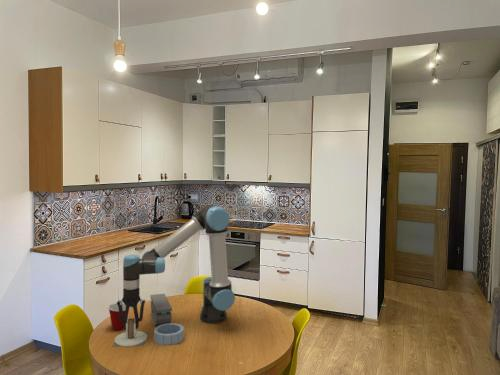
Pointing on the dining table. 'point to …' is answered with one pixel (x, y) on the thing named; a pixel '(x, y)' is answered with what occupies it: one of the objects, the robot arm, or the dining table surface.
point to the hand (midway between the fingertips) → (131, 335)
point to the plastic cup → (116, 316)
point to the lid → (131, 336)
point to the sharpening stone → (160, 309)
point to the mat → (136, 345)
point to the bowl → (169, 334)
